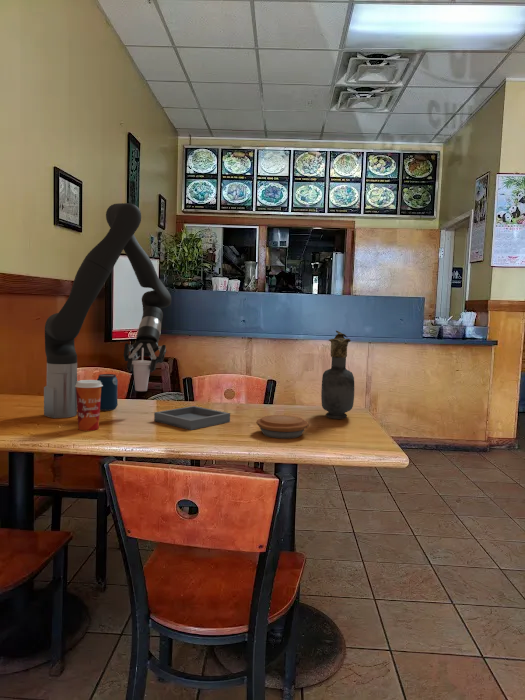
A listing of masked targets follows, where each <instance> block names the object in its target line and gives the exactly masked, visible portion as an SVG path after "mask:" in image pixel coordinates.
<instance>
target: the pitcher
mask: <svg viewBox="0 0 525 700" xmlns="http://www.w3.org/2000/svg"><path fill="white" fill-rule="evenodd" d="M335 332H336V333H337V334H336V335H335V337H334V338H330V339H328V341H329V342H330V357H331V365H330V367H331V368H328V369H326V370H325V371H324V372H323V374H322V378H321V391H320V392H321V394H320V395H321V398H320V399H321V406H322V409H323V410H324V411H326V413H325V416H326V417H327V418H328V419H333V420H345V419H346V418H347V417H348V415H347V414H346V413H348V412H350V411H351V410H352V409H353V408H354V402H355V376H354V374H353V372H352V371H351V370H348V369H347V368H346V367H347V366H346V364H347V357H348V345H349V343H350V342H351V338H348V336H347V334H345V333H343V332H341V331H339V330H335Z"/></svg>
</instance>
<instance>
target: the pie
mask: <svg viewBox="0 0 525 700" xmlns="http://www.w3.org/2000/svg"><path fill="white" fill-rule="evenodd" d="M255 423H256V424H257V426H258V427H259V429H260V430H261V433H262V434H263V435H264V436H265V437H269V438H273V439H282V440H283V439H285V440H287V439H295V438H299V437H301V436H302V435H303V433H304V431H305V429H307V428H308V427H309V425H310V424H309V422H308V421H307V420H304V419H303V418H301V417H299V416H294V415H286V414H271V415H264V416H262V417H261V418H259V419H257V420H256V421H255Z"/></svg>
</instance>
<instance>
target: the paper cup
mask: <svg viewBox="0 0 525 700" xmlns="http://www.w3.org/2000/svg"><path fill="white" fill-rule="evenodd" d="M102 386H103V385H102V384H101V381H98V380H97V379H81V380H77V383H76V385H75V387H76V396H77V427H78V430H79V431H81V432H91V431H97V430H99V425H100V415H101V414H100V412H101V410H100V401H101V387H102Z"/></svg>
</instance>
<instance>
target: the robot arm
mask: <svg viewBox="0 0 525 700" xmlns="http://www.w3.org/2000/svg"><path fill="white" fill-rule="evenodd" d="M105 220H106V222H107V224H108V227H109V230H108V232H106V233H107V234H106V235H105V236H104V237H103V238H102V239H101V240H100V242H99V243H97V244H96V245H95V246H94V247H93V248H92V249H91V250H90V251H89V252H88V253H87V255H86V256H85V257H84V259H83V260H82V262H81V264H80V266H79V267H78V270H77V271H76V274H75V276H74V278H73V279H74V280H73V283H72V287H71V290H70V293H69V296H68V298H67V299H66V301H65V303H64V304H63V306H62V307H61V309H60V310H59V311H58V312H57V313H56V312H55V313H53V314H51V315H50V316H48V318H47V319H46V322H45V323H44V324H45V325H44V350H45V356H46V385H44V387H43V416H44V417H48V418H50V419H59V418H60V419H62V418H64V419H65V418H70V417H71V418H72V417H75V416H78V414H77V396H76V387H75V385H76V383H77V381H78V353H77V351H76V347H75V339H76V338H77V337H78V335H79V333H80V332H81V329H82V327H83V324H84V322H85V319H86V317H87V315H88V312H89V311H90V309H91V307H92V306H93V303H94V302H95V300H96V298H97V297H98V295H99V294H100V292H101V290H102V288H103V287H104V285H105V284H106V282H107V280H108V278H109V277H110V275H111V273H112V271H113V268H115V265H116V263H117V261H118V259H120V256H121V254H122V253H123V252H124V253H125V255H126V256H127V258H128V261H129V263H130V266H131V268H132V270H133V272H134V275H135V276H136V279H137V281H138V284H139V285H140V287H141V288H147V289H152V290H149V291H146V292H144V293H143V294H142V296H141V304H142V315H141V321H140V323H139V327H138V329H137V334H136V338H135V342H134V343H133V344H129V343H128V342H125V344H124V349H123V359H124V361H125V362H127V363H126V367H127V370H128V371H129V372H132V371H133V364H132V361H134V360H137V359H138V360H139V358H140V357H141V358H142V348H144V353H143V357H146V358H147V357H148V358H150V359H151V360H150V361H151V365H150V373H153V372H154V371H156V367H157V364H158V363H163V361H164V359H165V356H166V352H167V346H166V345H165V344H161V345H159V340H160V337H161V330H162V322H163V318H164V312H163V311H162V309H164V308H167V307H169V306H171V304H172V295H171V293H170V291H169V290H168V288H167V287H166V286H165V284H164V283H163V282H162V280H161V279H160V278H159V276H158V274H157V271H156V269H155V267H154V264H153V262H152V260H151V258H150V256H149V255H148V254H147V252H146V251H145V250H144V248H143V247H142V246H141V244H140V243H139V241H138V239H137V237H136V235H135V233H136V231H137V229H138V228H139V227H140V225H141V222H142V212H141V210H140V208H139V207H138V206H137V205H135V204H134V203H127V202H126V203H125V202H124V203H123V202H121V203H112V204H111V205H110V206H108V208H107V209H106V212H105ZM131 351H132V352H131ZM158 351H159V354H158V356H156V354H155V353H156V352H158ZM130 352H131V354H130Z"/></svg>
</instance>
